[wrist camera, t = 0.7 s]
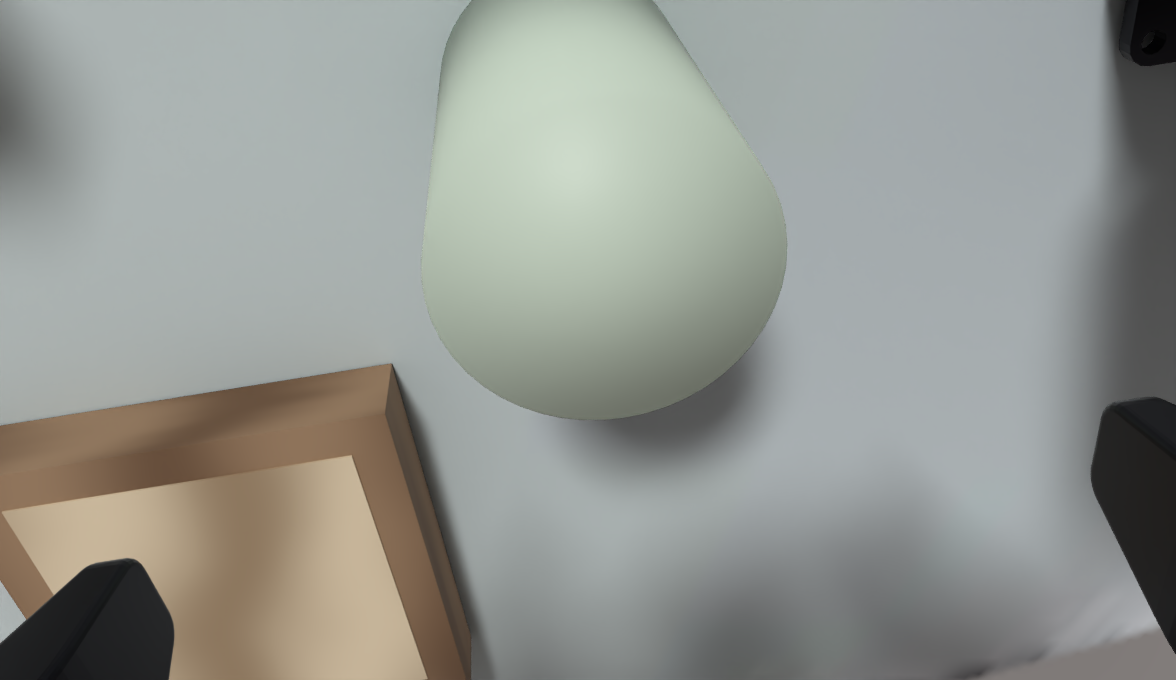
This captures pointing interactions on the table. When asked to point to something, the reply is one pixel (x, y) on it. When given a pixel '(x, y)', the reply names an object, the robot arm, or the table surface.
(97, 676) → the robot arm
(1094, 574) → the table surface
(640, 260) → the sage capsule
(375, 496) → the plinth
